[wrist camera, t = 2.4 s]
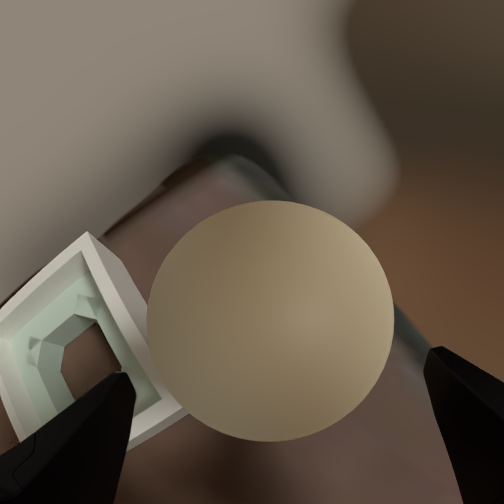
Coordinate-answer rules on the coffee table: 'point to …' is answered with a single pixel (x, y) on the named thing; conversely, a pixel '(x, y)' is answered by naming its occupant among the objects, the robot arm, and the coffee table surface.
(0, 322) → the bore box
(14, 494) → the robot arm
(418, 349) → the coffee table surface
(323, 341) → the peg
